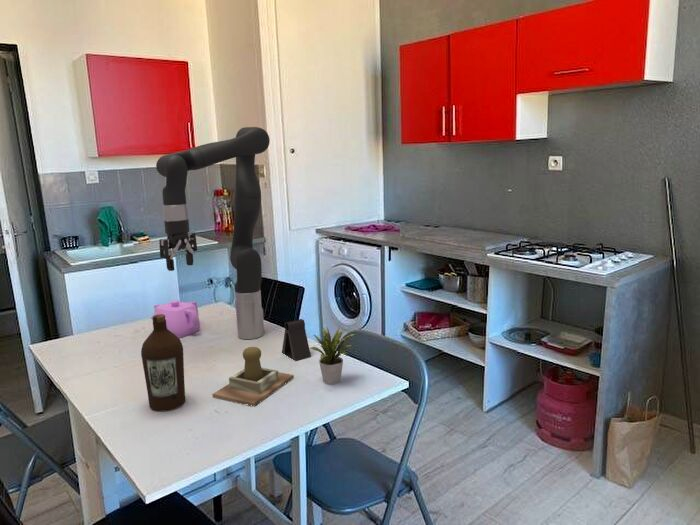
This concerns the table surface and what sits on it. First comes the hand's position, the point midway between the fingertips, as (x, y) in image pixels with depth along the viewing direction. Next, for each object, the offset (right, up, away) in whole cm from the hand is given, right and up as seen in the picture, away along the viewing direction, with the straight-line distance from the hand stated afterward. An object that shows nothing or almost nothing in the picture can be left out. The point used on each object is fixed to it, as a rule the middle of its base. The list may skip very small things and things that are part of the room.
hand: (180, 267), depth 175 cm
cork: (+28, -34, -20) cm, 48 cm away
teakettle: (-11, -25, +30) cm, 40 cm away
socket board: (+28, -34, -20) cm, 48 cm away
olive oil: (+5, -37, -29) cm, 47 cm away
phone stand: (+37, -29, +4) cm, 48 cm away
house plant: (+50, -34, -18) cm, 63 cm away
